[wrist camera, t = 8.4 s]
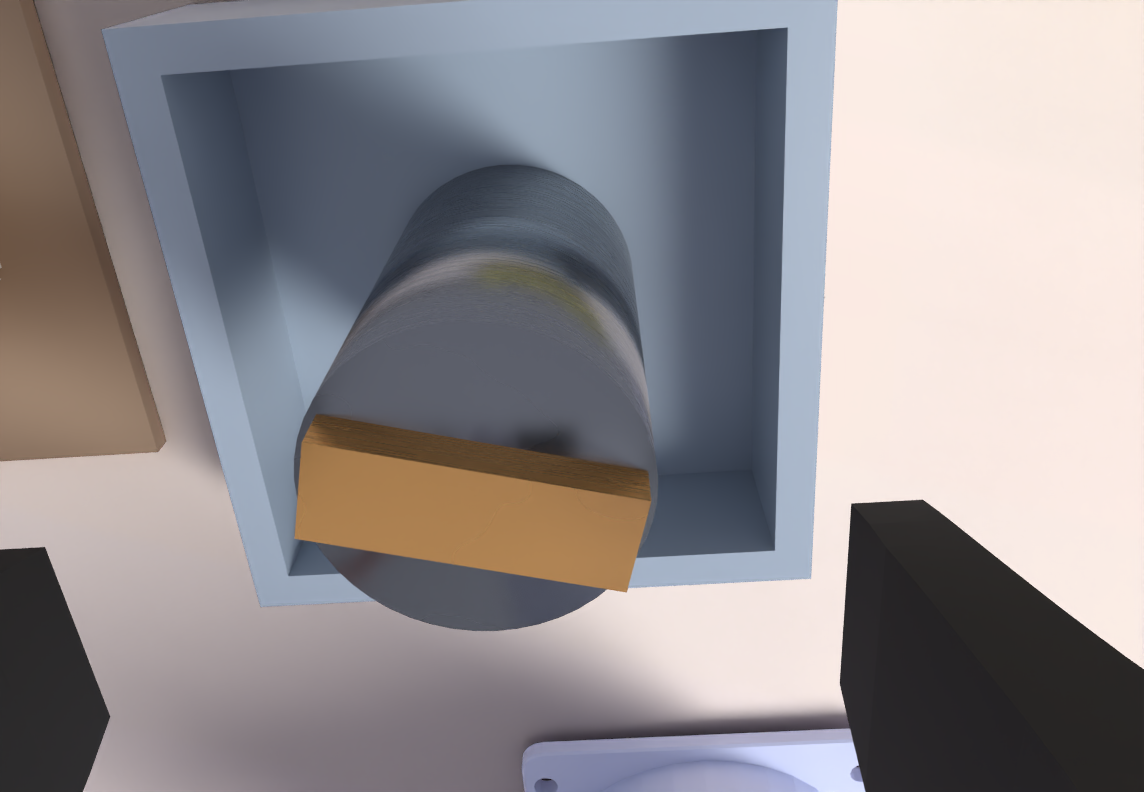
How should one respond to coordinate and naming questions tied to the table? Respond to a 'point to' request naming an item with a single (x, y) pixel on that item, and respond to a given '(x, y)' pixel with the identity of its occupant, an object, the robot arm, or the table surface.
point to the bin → (488, 138)
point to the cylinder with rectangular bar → (487, 412)
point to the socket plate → (58, 279)
